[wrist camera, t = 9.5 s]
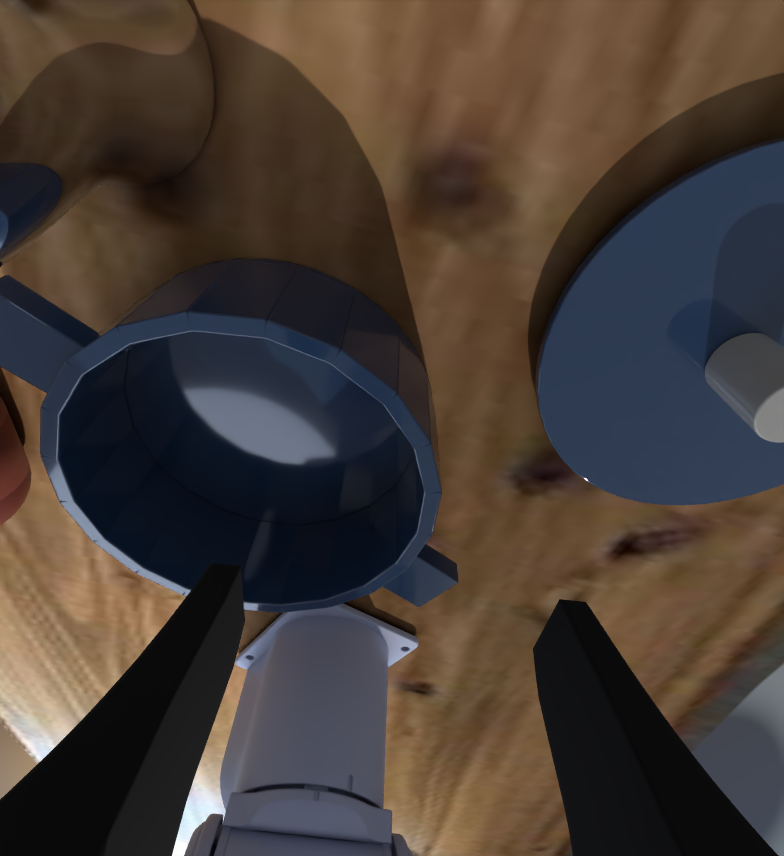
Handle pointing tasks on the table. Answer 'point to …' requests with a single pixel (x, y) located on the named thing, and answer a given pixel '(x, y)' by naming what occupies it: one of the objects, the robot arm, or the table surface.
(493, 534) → the table surface
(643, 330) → the pan lid
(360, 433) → the pan
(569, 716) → the robot arm
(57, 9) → the beer glass
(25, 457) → the red ribbed oval
